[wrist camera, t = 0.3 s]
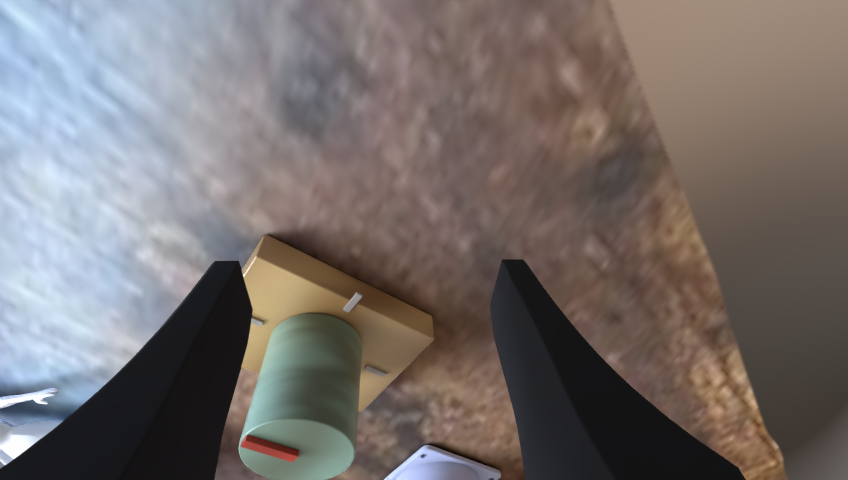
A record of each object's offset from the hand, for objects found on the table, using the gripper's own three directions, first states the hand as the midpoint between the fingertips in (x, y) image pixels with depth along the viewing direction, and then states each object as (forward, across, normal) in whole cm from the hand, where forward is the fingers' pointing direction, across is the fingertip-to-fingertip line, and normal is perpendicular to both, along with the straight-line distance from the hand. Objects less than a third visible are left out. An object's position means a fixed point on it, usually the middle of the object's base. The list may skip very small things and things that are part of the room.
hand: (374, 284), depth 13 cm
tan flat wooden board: (+9, +3, +13) cm, 16 cm away
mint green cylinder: (+7, +3, +13) cm, 15 cm away
